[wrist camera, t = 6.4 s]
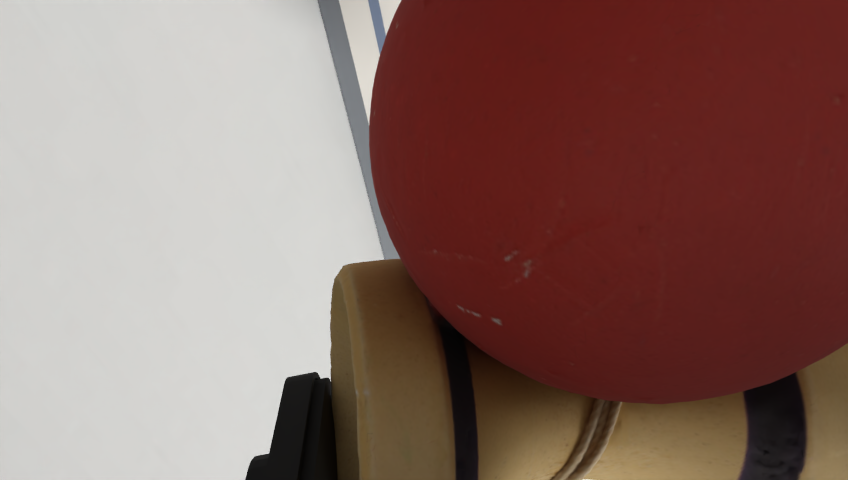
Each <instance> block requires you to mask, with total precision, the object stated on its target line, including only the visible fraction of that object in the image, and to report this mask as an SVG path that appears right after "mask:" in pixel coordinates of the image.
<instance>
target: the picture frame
mask: <svg viewBox="0 0 848 480" xmlns="http://www.w3.org/2000/svg"><path fill="white" fill-rule="evenodd" d="M400 2H401V0H318V3H319V7H320V11H321V15H322V19H323V23H324V27H325V30H326V34H327V38H328V42H329V46H330V50H331V54H332V57H333V61H334V65H335V69H336V73H337V77H338V81H339V85H340V88H341V92H342V96H343V100H344V104H345V108H346V112H347V116H348V119H349V123H350V127H351V131H352V135H353V139H354V143H355V146H356V150H357V154H358V158H359V162H360V166H361V170H362V174H363V177H364V181H365V185H366V189H367V193H368V197H369V201H370V204H371V208H372V212H373V216H374V220H375V224H376V228H377V232H378V235H379V239H380V243H381V247H382V251H383V255H384V259H385V260H387V259H400V257H399V255H398V253H397V251H396V249H395V247H394V245H393V243H392V241H391V239H390V237H389V234H388V231H387V228H386V225H385V223H384V221H383V218H382V216H381V212H380V209H379V205H378V202H377V198H376V194H375V189H374V185H373V179H372V173H371V162H370V151H369V119H370V108H371V98H372V89H373V84H374V78H375V73H376V69H377V65H378V61H379V57H380V53H381V51H382V47H383V44H384V41H385V38H386V35H387V32H388V29H389V27H390V24H391V21H392V19H393V17H394V14H395V12H396V10H397V8H398V6H399V4H400Z"/></svg>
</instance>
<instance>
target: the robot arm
mask: <svg viewBox="0 0 848 480" xmlns="http://www.w3.org/2000/svg"><path fill="white" fill-rule="evenodd" d="M246 480H338V475H337V453H336V439H335V428H334V419H333V410H332V390H331V382H330V379H329V378H323V379H320V377H319V375H318V373H317V372H313V373H308V374H303V375H298V376H292V377H288V378H287V379H286V381H285V384H284V388H283V393H282V397H281V402H280V407H279V411H278V416H277V420H276V425H275V429H274V434H273V439H272V443H271V448H270V452H269V454H265V455H260V456H255V457H254V458H253V459H252V461H251V463H250V465H249V468H248V472H247V476H246Z"/></svg>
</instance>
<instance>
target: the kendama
mask: <svg viewBox="0 0 848 480" xmlns="http://www.w3.org/2000/svg"><path fill="white" fill-rule="evenodd" d="M369 151H370V162H371V173H372V179H373V185H374V189H375V194H376V198H377V202H378V205H379V209H380V212H381V216H382V218H383V221H384V223H385V225H386V228H387V231H388V234H389V237H390V239H391V241H392V243H393V245H394V247H395V249H396V251H397V253H398V255H399V257H400V259H387V260H378V261H369V262H360V263H353V264H348V265H345V266H343V267H342V269H341V270H340V272H339V274H338V275H337V276H336V278H335V279H334V285H333V289H332V301H331V322H330V331H331V342H332V344H331V354H330V355H331V390H332V410H333V419H334V428H335V439H336V453H337V475H338V480H582V479H593V480H848V0H401V2H400V4H399V6H398V8H397V10H396V12H395V14H394V17H393V19H392V21H391V24H390V27H389V29H388V32H387V35H386V38H385V41H384V44H383V47H382V51H381V53H380V57H379V61H378V65H377V69H376V73H375V78H374V84H373V89H372V98H371V108H370V119H369Z"/></svg>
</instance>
